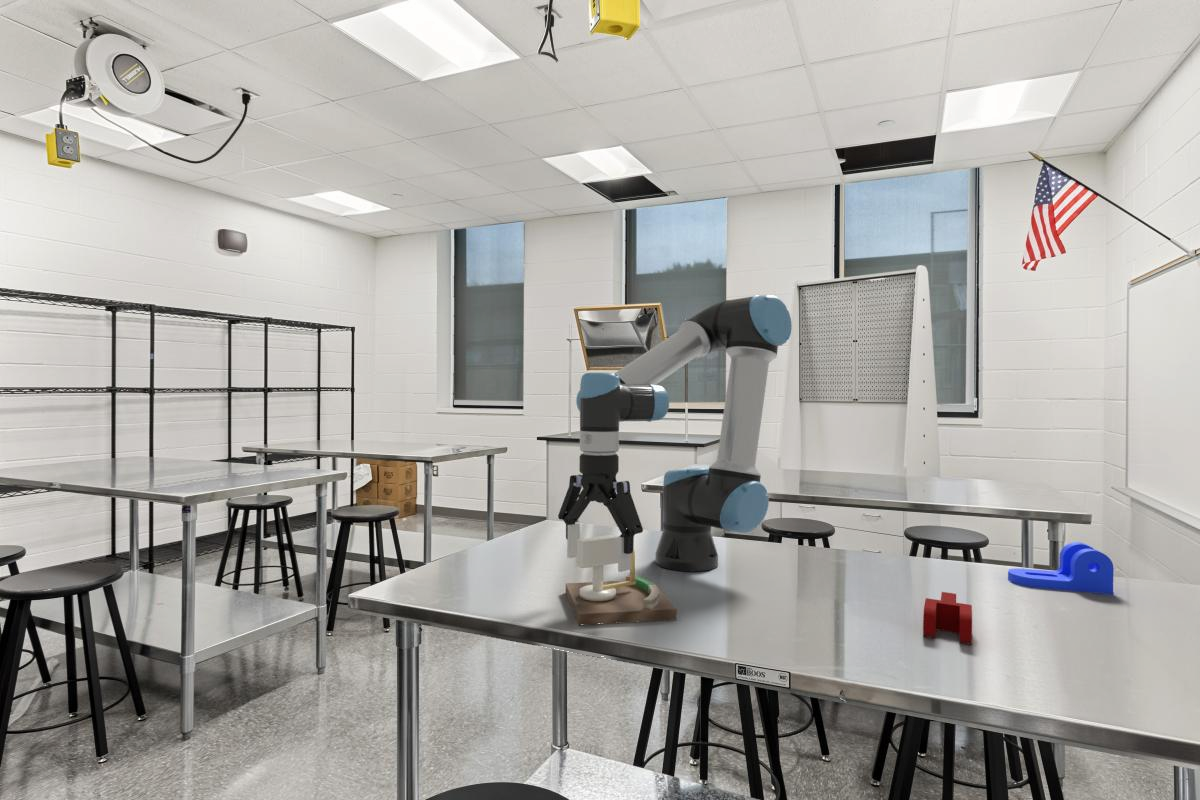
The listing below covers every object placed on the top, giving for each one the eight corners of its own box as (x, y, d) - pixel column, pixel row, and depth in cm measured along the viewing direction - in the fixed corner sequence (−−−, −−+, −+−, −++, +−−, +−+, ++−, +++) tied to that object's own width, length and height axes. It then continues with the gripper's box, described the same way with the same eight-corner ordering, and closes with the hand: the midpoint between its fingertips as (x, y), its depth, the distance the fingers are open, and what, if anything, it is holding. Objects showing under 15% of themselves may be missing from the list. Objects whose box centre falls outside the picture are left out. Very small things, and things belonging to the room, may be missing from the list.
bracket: (1095, 583, 142) (1096, 543, 141) (1113, 595, 134) (1113, 552, 134) (1003, 576, 147) (1003, 537, 147) (1014, 586, 139) (1015, 545, 139)
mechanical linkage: (971, 649, 104) (972, 618, 104) (922, 640, 108) (923, 610, 108) (970, 619, 118) (971, 592, 118) (927, 612, 122) (927, 586, 122)
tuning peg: (570, 593, 123) (571, 536, 123) (624, 583, 130) (625, 530, 129) (588, 603, 117) (589, 544, 117) (644, 593, 124) (645, 537, 123)
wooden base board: (650, 589, 134) (650, 572, 134) (676, 619, 116) (676, 600, 116) (565, 593, 131) (565, 576, 131) (578, 625, 112) (578, 605, 112)
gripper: (541, 449, 128) (540, 554, 128) (635, 459, 111) (634, 581, 111) (568, 447, 133) (567, 548, 133) (662, 456, 116) (661, 572, 116)
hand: (598, 563), depth 122 cm, fingers open, 13 cm apart
